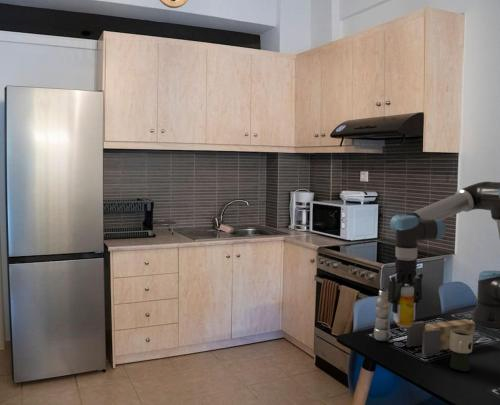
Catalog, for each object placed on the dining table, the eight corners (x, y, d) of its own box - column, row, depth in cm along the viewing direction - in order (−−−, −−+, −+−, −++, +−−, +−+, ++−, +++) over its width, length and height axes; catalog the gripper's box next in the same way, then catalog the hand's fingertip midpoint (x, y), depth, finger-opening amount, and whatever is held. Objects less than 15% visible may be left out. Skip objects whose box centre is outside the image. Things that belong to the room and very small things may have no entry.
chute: (419, 342, 190) (420, 320, 189) (441, 354, 178) (442, 330, 177) (404, 344, 187) (405, 322, 186) (426, 356, 176) (427, 332, 175)
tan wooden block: (464, 341, 193) (466, 318, 192) (473, 345, 189) (475, 322, 188) (424, 347, 186) (425, 324, 185) (432, 351, 181) (433, 328, 181)
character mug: (471, 377, 160) (473, 339, 159) (447, 373, 163) (449, 335, 161) (470, 364, 170) (472, 328, 168) (448, 361, 173) (450, 325, 171)
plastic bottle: (393, 340, 192) (395, 290, 190) (385, 344, 187) (387, 293, 185) (378, 335, 196) (380, 287, 195) (370, 340, 191) (372, 290, 190)
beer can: (414, 328, 175) (415, 287, 174) (396, 327, 176) (397, 287, 175) (411, 322, 181) (412, 283, 180) (394, 321, 182) (395, 282, 181)
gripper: (420, 254, 183) (418, 314, 185) (377, 258, 176) (376, 319, 179) (434, 258, 176) (432, 320, 178) (390, 262, 169) (388, 326, 172)
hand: (404, 320), depth 179 cm, fingers closed on beer can, 6 cm apart
